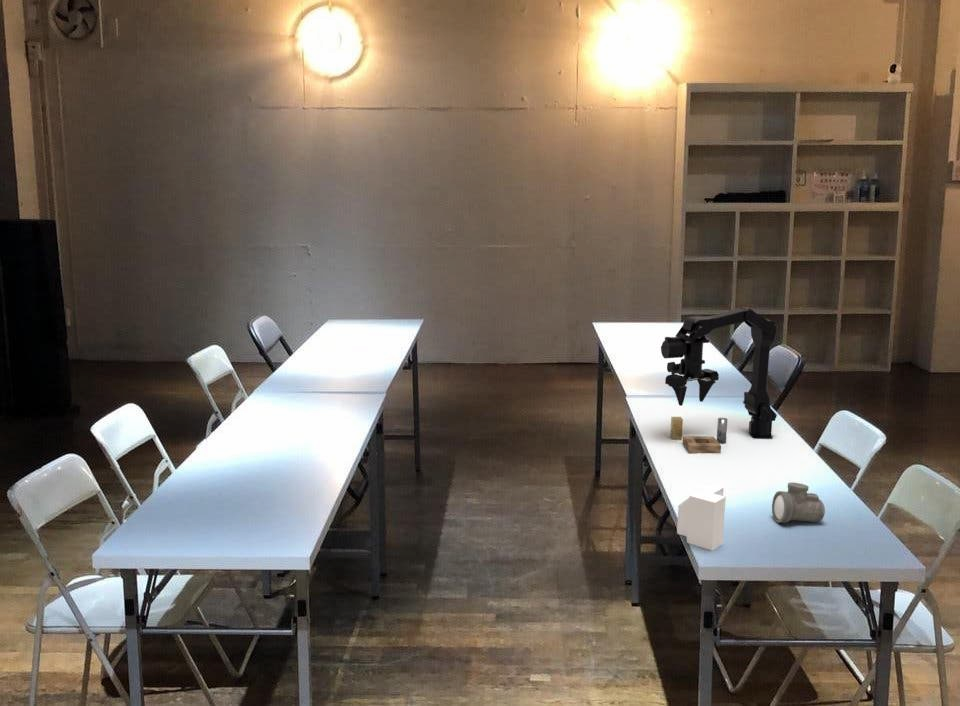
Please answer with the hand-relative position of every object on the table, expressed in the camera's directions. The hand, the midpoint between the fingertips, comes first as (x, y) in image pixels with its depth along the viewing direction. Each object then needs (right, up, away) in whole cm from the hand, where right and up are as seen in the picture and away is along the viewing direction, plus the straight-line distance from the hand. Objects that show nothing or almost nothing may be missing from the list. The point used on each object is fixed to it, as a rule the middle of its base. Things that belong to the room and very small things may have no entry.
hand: (690, 403), depth 301 cm
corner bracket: (-14, -29, -74) cm, 80 cm away
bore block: (+2, -14, -4) cm, 15 cm away
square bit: (-3, -12, +6) cm, 14 cm away
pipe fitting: (+13, -27, -63) cm, 70 cm away
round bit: (+10, -13, +2) cm, 17 cm away
